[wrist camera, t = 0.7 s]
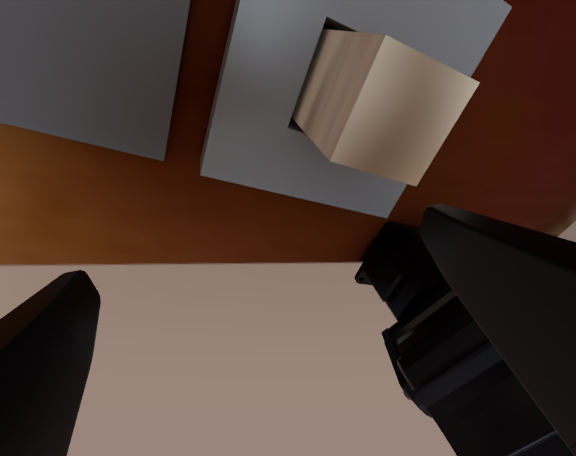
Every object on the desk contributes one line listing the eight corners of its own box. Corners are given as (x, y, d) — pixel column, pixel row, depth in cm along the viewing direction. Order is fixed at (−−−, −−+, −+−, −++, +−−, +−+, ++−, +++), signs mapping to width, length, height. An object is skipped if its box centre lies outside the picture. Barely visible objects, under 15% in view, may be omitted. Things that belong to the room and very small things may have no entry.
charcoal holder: (476, 8, 18) (512, 6, 16) (371, 201, 24) (386, 218, 22) (264, -128, 13) (275, -155, 11) (200, 158, 19) (200, 175, 17)
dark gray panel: (194, -22, 14) (194, -23, 14) (164, 157, 18) (163, 161, 18) (-66, -141, 11) (-79, -149, 10) (-29, 110, 15) (-37, 114, 15)
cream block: (381, 59, 18) (479, 82, 12) (348, 132, 20) (416, 186, 14) (314, 28, 16) (385, 34, 10) (286, 111, 18) (330, 161, 12)
